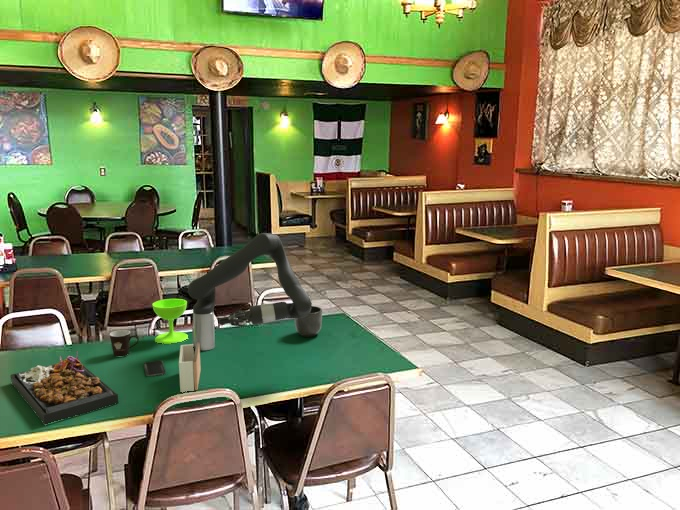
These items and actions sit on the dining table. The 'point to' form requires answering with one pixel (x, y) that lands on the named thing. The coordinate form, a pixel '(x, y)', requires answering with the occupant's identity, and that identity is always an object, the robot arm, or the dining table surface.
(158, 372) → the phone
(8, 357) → the dining table surface
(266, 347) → the dining table surface
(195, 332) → the robot arm
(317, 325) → the planter
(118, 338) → the coffee mug
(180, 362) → the box
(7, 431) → the dining table surface
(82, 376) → the food platter
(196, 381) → the panel
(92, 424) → the dining table surface
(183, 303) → the wineglass
